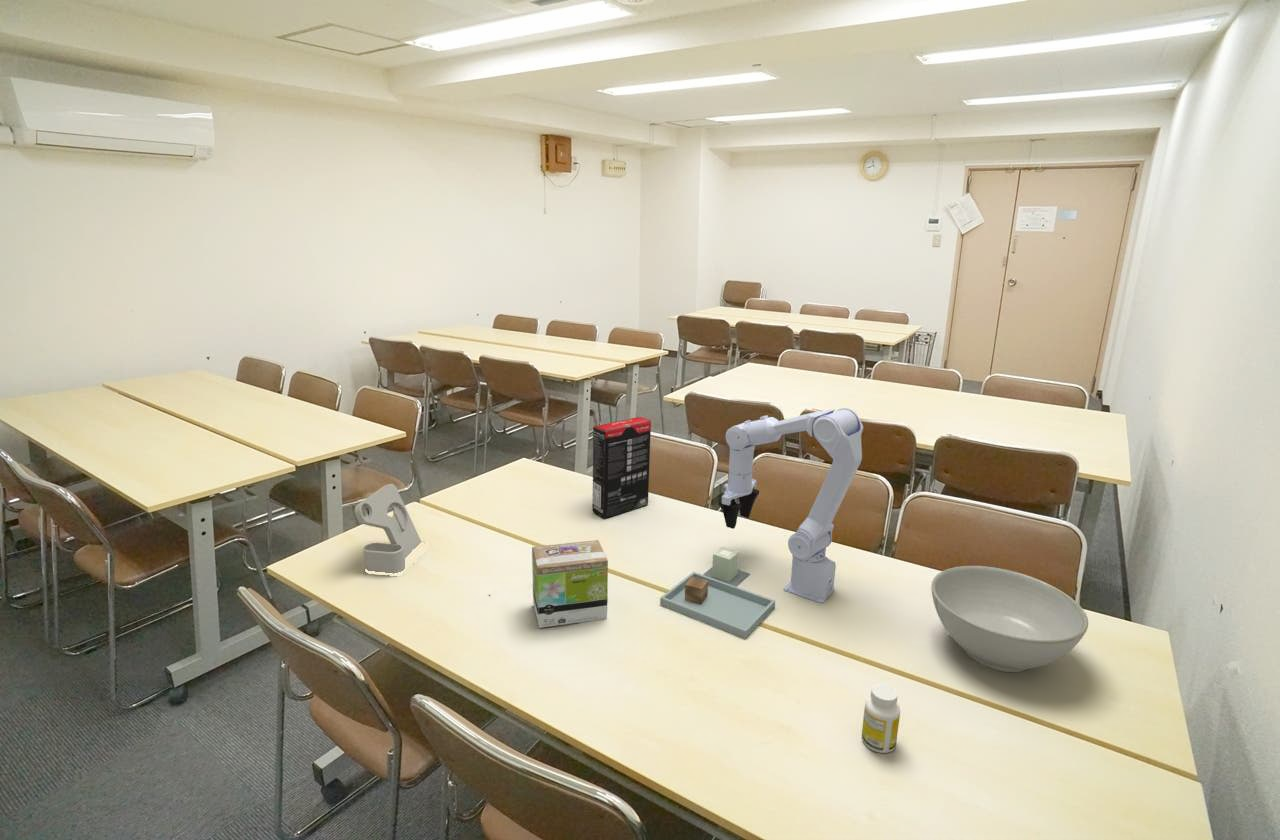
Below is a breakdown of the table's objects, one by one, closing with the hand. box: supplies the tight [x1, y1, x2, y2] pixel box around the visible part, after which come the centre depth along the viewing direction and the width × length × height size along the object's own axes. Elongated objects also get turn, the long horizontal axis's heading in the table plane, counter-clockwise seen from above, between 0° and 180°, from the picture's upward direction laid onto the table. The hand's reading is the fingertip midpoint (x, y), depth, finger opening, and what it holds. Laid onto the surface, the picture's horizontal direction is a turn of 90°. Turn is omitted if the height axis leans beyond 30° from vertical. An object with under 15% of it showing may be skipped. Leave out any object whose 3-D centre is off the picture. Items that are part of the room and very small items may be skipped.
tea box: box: [531, 539, 609, 629], centre depth 141 cm, size 15×10×15 cm
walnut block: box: [685, 577, 708, 605], centre depth 148 cm, size 4×4×4 cm
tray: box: [659, 571, 776, 640], centre depth 145 cm, size 21×14×2 cm
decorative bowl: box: [931, 565, 1089, 673], centre depth 129 cm, size 27×27×12 cm
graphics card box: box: [592, 416, 652, 519], centre depth 192 cm, size 17×7×27 cm, turn 130°
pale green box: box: [711, 546, 740, 582], centre depth 157 cm, size 4×4×6 cm
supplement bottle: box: [861, 683, 901, 754], centre depth 106 cm, size 5×5×10 cm
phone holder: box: [354, 483, 422, 574], centre depth 163 cm, size 17×10×18 cm, turn 171°
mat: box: [702, 567, 751, 587], centre depth 158 cm, size 9×9×1 cm
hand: (737, 521), depth 163 cm, fingers open, 7 cm apart
